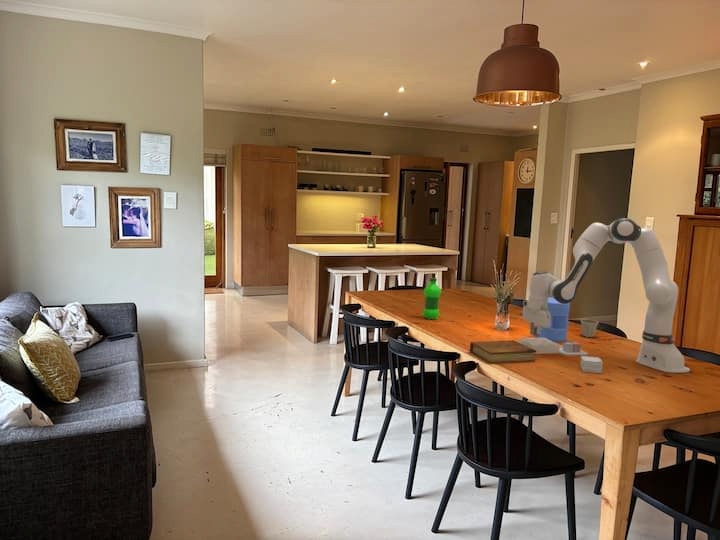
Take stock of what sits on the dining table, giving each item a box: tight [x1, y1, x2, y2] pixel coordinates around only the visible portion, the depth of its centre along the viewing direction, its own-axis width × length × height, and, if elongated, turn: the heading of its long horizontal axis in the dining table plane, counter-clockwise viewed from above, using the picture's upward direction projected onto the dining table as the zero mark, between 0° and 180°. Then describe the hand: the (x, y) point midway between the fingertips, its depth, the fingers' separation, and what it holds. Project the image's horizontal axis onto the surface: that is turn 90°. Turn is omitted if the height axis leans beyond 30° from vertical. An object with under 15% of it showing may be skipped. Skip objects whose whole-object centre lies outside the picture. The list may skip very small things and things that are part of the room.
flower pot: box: [580, 318, 600, 338], centre depth 291 cm, size 9×9×9 cm
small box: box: [579, 355, 604, 374], centre depth 228 cm, size 8×8×5 cm
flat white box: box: [517, 337, 561, 355], centre depth 256 cm, size 14×14×4 cm
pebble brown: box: [569, 341, 581, 352], centre depth 256 cm, size 4×3×4 cm
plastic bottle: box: [422, 277, 442, 320], centre depth 319 cm, size 10×10×25 cm
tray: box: [558, 345, 590, 357], centre depth 255 cm, size 14×13×1 cm
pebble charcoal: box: [529, 325, 540, 337], centre depth 255 cm, size 4×3×4 cm
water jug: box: [535, 297, 571, 343], centre depth 279 cm, size 16×16×28 cm
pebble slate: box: [562, 341, 574, 352], centre depth 255 cm, size 4×3×4 cm
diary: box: [469, 339, 536, 365], centre depth 243 cm, size 23×19×6 cm
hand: (535, 332), depth 255 cm, fingers closed on pebble charcoal, 4 cm apart
